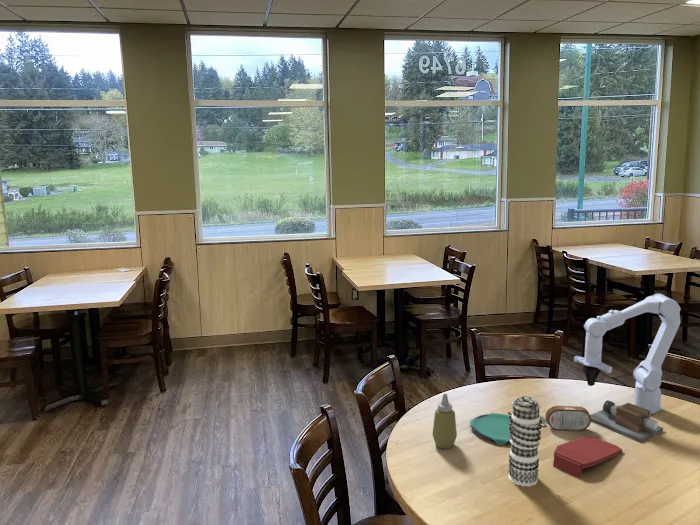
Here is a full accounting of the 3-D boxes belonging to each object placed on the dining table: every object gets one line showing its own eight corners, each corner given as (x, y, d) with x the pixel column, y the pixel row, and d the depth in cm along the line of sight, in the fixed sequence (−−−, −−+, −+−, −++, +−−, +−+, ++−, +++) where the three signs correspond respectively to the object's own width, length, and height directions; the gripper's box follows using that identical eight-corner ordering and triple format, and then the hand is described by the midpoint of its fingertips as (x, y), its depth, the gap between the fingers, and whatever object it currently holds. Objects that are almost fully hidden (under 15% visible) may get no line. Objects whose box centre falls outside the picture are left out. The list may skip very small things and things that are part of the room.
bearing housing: (609, 409, 207) (610, 391, 206) (662, 430, 191) (664, 411, 189) (586, 419, 200) (587, 400, 199) (639, 442, 183) (641, 422, 182)
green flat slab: (458, 426, 196) (459, 420, 196) (518, 408, 211) (519, 402, 211) (499, 451, 180) (500, 445, 179) (561, 430, 194) (562, 424, 194)
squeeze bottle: (459, 441, 186) (460, 391, 183) (453, 452, 179) (454, 401, 175) (436, 436, 189) (436, 387, 186) (429, 448, 182) (429, 396, 179)
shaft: (609, 410, 202) (610, 399, 201) (658, 429, 187) (659, 417, 186) (602, 413, 200) (603, 401, 199) (651, 433, 184) (652, 421, 184)
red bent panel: (586, 448, 188) (546, 463, 172) (588, 434, 187) (549, 448, 171) (622, 463, 178) (584, 480, 162) (624, 448, 178) (586, 464, 162)
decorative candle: (535, 490, 157) (539, 409, 153) (503, 481, 162) (505, 402, 158) (542, 475, 165) (546, 397, 161) (511, 467, 170) (514, 390, 165)
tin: (588, 428, 194) (589, 405, 192) (591, 432, 191) (593, 409, 189) (544, 426, 195) (545, 404, 194) (546, 431, 192) (548, 408, 191)
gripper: (569, 347, 209) (567, 381, 211) (604, 358, 197) (602, 394, 199) (581, 343, 212) (579, 377, 215) (616, 354, 200) (613, 389, 203)
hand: (591, 385), depth 207 cm, fingers closed
